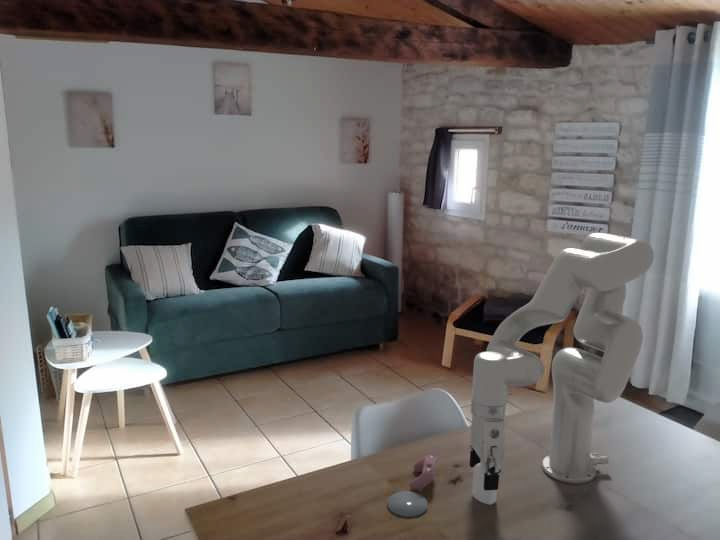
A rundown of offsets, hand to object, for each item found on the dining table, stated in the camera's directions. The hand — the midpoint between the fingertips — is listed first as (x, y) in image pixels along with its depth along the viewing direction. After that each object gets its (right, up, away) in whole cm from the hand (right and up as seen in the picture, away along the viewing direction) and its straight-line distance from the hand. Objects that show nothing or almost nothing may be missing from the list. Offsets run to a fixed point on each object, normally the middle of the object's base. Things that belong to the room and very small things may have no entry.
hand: (483, 477), depth 138 cm
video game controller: (-13, -4, +9) cm, 16 cm away
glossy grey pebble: (-17, -6, -1) cm, 18 cm away
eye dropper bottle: (0, -6, +1) cm, 6 cm away
